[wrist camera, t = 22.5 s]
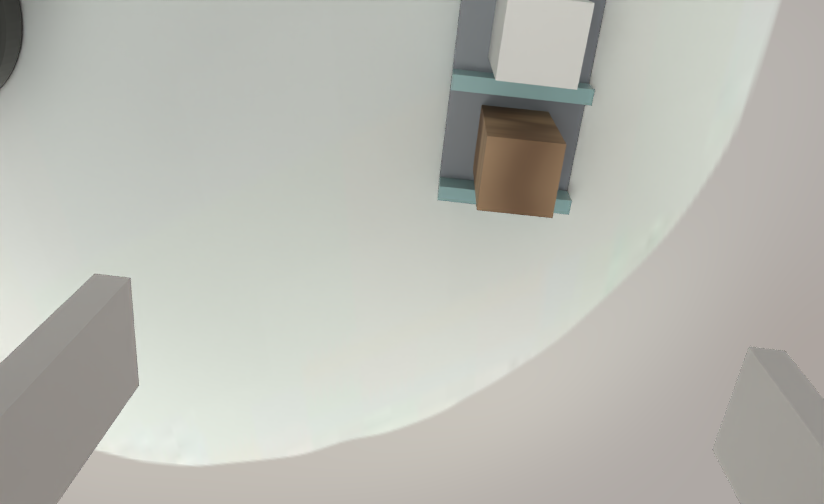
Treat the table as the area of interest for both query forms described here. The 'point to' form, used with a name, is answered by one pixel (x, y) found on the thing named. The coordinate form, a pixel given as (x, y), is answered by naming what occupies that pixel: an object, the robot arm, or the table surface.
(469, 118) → the teal-ribbed grey panel
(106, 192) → the table surface
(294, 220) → the table surface
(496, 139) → the walnut plug
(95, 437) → the robot arm
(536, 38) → the white rectangular block
